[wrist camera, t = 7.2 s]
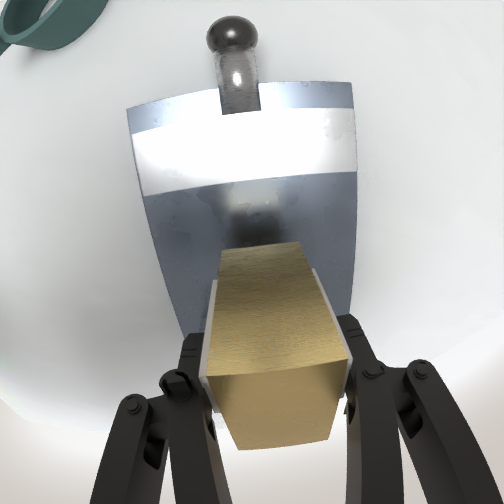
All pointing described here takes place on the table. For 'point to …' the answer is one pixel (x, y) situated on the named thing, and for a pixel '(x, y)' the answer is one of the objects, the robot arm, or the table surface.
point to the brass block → (273, 349)
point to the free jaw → (243, 129)
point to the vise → (250, 207)
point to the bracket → (46, 22)
